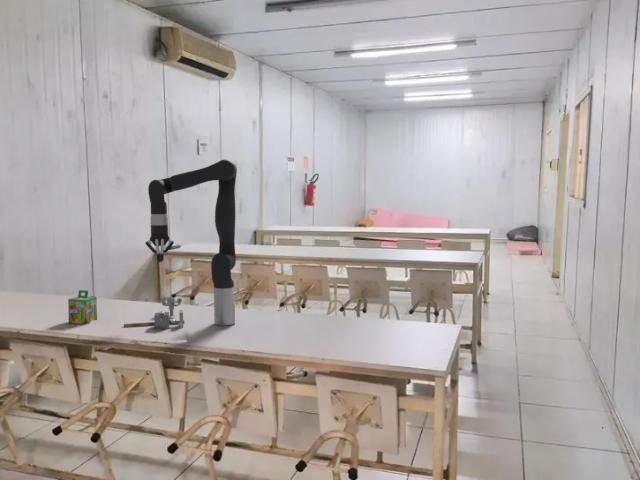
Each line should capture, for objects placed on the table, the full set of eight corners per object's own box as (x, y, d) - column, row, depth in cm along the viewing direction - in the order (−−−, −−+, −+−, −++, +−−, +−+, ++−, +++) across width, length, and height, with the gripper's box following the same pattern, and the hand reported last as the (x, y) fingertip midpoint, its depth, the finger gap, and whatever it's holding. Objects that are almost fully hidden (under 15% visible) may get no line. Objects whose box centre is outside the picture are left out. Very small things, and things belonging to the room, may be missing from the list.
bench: (184, 325, 240) (184, 308, 240) (184, 331, 231) (184, 313, 230) (124, 329, 234) (123, 311, 233) (121, 335, 224) (120, 317, 224)
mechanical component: (180, 319, 252) (179, 298, 251) (160, 318, 254) (159, 297, 253) (182, 317, 255) (182, 297, 254) (163, 316, 257) (162, 296, 256)
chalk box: (68, 323, 244) (66, 292, 242) (80, 319, 253) (79, 288, 251) (86, 324, 242) (84, 293, 241) (98, 319, 251) (96, 289, 250)
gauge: (176, 324, 238) (175, 309, 237) (176, 329, 229) (175, 313, 229) (155, 325, 235) (155, 310, 235) (154, 331, 227) (153, 315, 226)
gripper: (174, 223, 244) (175, 260, 246) (144, 223, 241) (145, 261, 243) (174, 224, 237) (175, 262, 239) (143, 224, 234) (144, 263, 236)
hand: (160, 261), depth 241 cm, fingers closed
